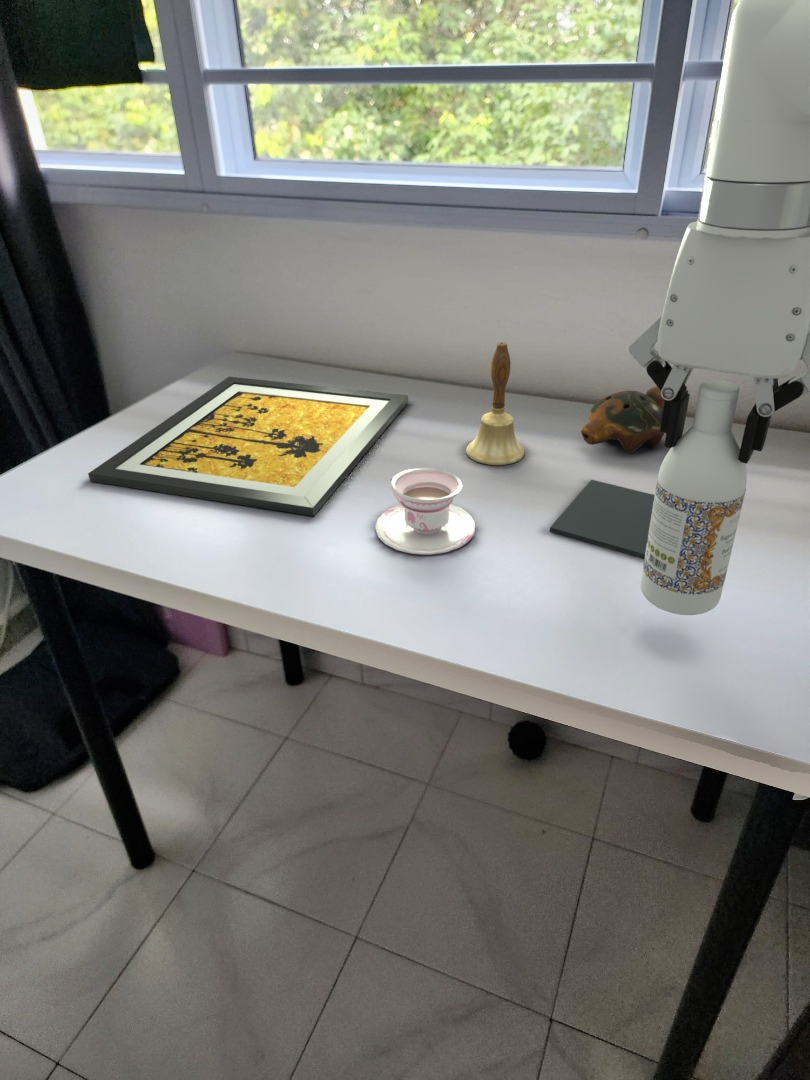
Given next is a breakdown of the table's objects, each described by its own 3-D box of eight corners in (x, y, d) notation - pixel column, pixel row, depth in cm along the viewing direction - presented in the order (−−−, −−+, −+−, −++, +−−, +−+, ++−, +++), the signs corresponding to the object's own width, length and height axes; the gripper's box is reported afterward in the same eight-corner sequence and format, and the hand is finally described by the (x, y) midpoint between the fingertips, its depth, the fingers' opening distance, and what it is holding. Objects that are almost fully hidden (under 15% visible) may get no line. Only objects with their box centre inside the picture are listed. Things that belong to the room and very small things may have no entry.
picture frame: (228, 376, 131) (408, 395, 123) (229, 382, 132) (408, 401, 123) (87, 473, 101) (313, 507, 92) (89, 481, 102) (314, 516, 93)
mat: (699, 510, 93) (700, 506, 92) (667, 565, 83) (668, 560, 82) (590, 483, 99) (591, 479, 99) (549, 531, 89) (549, 527, 89)
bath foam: (695, 628, 64) (742, 409, 54) (624, 595, 69) (656, 387, 58) (733, 594, 68) (784, 384, 58) (664, 565, 73) (700, 365, 62)
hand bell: (536, 451, 107) (545, 342, 99) (500, 471, 102) (507, 357, 94) (490, 435, 112) (495, 329, 104) (454, 453, 107) (456, 344, 98)
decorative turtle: (687, 442, 109) (697, 391, 104) (610, 475, 103) (617, 423, 98) (638, 416, 116) (645, 368, 111) (562, 446, 110) (567, 396, 105)
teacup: (493, 520, 91) (495, 475, 88) (442, 568, 83) (443, 520, 80) (410, 495, 97) (410, 452, 94) (355, 537, 89) (352, 491, 85)
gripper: (904, 205, 50) (830, 453, 60) (649, 194, 58) (620, 414, 67) (898, 223, 45) (818, 492, 54) (617, 208, 52) (591, 445, 62)
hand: (709, 447), depth 61 cm, fingers closed on bath foam, 5 cm apart
